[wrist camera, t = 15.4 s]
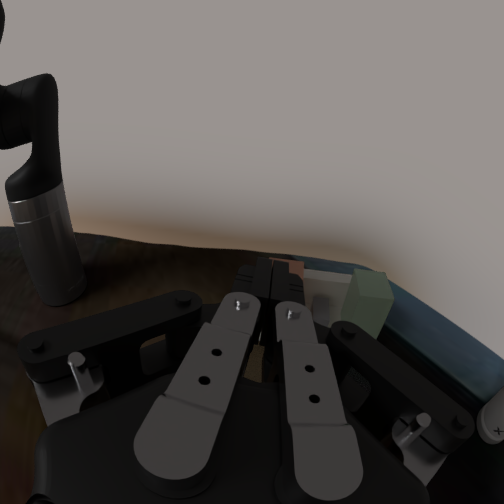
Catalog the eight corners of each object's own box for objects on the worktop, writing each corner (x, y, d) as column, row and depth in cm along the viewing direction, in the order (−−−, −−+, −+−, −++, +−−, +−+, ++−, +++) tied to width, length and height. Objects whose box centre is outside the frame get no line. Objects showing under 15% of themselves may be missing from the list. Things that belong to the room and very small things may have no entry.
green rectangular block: (343, 341, 30) (360, 295, 27) (340, 312, 34) (354, 268, 31) (373, 343, 30) (394, 299, 26) (368, 315, 34) (385, 272, 30)
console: (254, 339, 33) (257, 303, 30) (263, 298, 40) (266, 263, 37) (371, 352, 31) (388, 318, 28) (364, 310, 38) (376, 277, 35)
